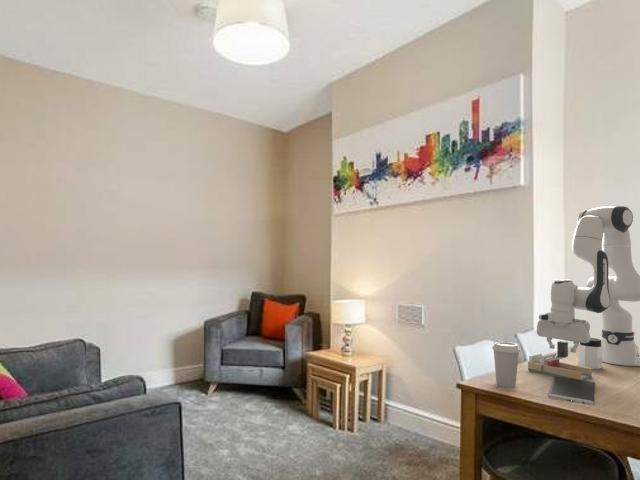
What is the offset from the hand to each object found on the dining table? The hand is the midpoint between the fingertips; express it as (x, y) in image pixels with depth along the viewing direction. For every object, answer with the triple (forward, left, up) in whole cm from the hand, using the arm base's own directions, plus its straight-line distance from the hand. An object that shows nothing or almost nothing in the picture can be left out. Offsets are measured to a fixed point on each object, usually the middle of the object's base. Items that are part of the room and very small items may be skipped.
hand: (562, 350), depth 184 cm
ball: (+8, -4, -5) cm, 10 cm away
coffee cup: (+40, -3, -8) cm, 41 cm away
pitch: (+8, +2, -8) cm, 12 cm away
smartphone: (+27, +15, -9) cm, 32 cm away
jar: (-16, +5, -8) cm, 18 cm away
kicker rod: (+6, 0, -7) cm, 9 cm away
